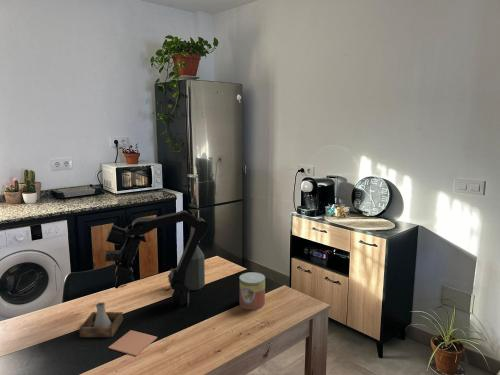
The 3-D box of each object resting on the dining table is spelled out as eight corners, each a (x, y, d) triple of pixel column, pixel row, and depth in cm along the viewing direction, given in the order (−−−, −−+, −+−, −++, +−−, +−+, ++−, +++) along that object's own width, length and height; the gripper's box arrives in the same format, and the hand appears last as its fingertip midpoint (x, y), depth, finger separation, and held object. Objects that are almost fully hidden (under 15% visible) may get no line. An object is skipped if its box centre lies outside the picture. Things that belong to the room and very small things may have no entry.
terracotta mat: (131, 331, 144) (131, 330, 144) (157, 337, 140) (157, 336, 140) (108, 348, 133) (108, 347, 133) (136, 356, 129) (136, 355, 129)
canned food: (235, 306, 164) (235, 280, 162) (245, 295, 174) (245, 270, 172) (259, 311, 160) (259, 284, 158) (268, 299, 170) (268, 274, 168)
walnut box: (122, 320, 152) (122, 312, 152) (112, 337, 140) (111, 328, 140) (93, 320, 152) (92, 312, 152) (79, 336, 140) (79, 328, 140)
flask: (115, 323, 149) (113, 300, 148) (106, 334, 142) (105, 309, 141) (97, 323, 150) (96, 299, 148) (88, 333, 143) (86, 308, 141)
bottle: (203, 290, 179) (201, 229, 173) (182, 290, 179) (180, 229, 173) (205, 281, 189) (204, 223, 183) (186, 281, 189) (184, 223, 184)
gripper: (110, 235, 160) (96, 269, 160) (110, 249, 143) (95, 287, 143) (136, 243, 164) (122, 276, 164) (139, 258, 147) (124, 295, 147)
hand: (115, 283), depth 155 cm, fingers open, 9 cm apart
